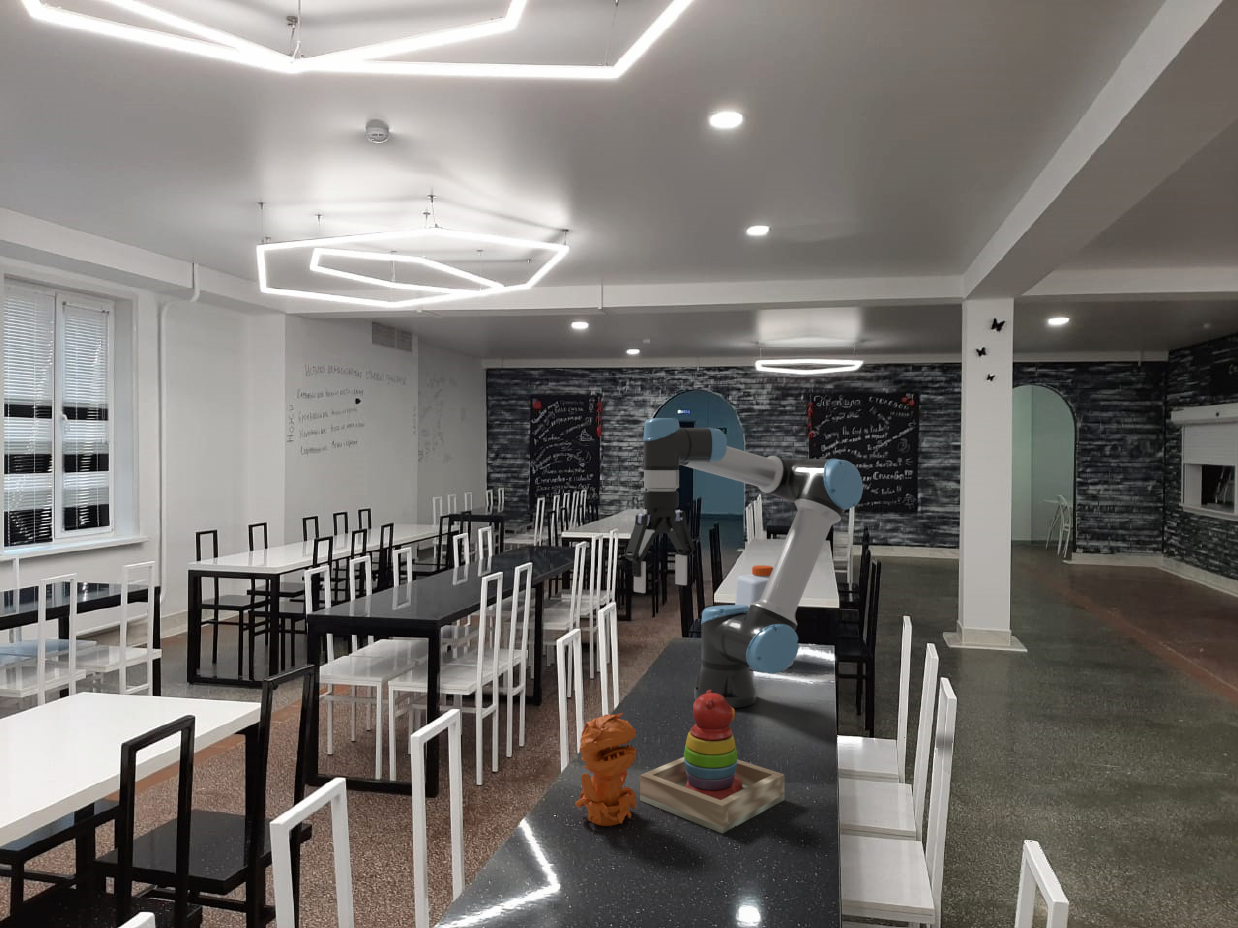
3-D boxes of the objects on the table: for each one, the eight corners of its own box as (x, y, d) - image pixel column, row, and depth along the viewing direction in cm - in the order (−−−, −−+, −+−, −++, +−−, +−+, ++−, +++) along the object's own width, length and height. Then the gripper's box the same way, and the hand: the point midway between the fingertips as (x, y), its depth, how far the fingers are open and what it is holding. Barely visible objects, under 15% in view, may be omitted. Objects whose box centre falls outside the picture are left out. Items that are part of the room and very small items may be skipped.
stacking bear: (739, 809, 141) (740, 704, 140) (680, 804, 143) (680, 700, 142) (743, 784, 151) (743, 686, 151) (687, 779, 153) (687, 683, 153)
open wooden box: (703, 771, 159) (703, 748, 159) (784, 799, 147) (784, 774, 147) (640, 800, 147) (640, 774, 146) (722, 833, 134) (722, 805, 134)
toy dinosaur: (617, 839, 132) (618, 726, 131) (561, 823, 138) (562, 714, 137) (652, 813, 141) (653, 708, 141) (599, 799, 147) (599, 697, 147)
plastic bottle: (753, 672, 230) (754, 571, 229) (725, 659, 244) (726, 564, 243) (799, 667, 236) (800, 568, 235) (769, 655, 250) (770, 561, 249)
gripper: (684, 487, 191) (684, 579, 191) (608, 491, 173) (607, 593, 173) (710, 488, 186) (710, 583, 186) (634, 492, 168) (634, 597, 168)
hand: (660, 588), depth 180 cm, fingers open, 13 cm apart
